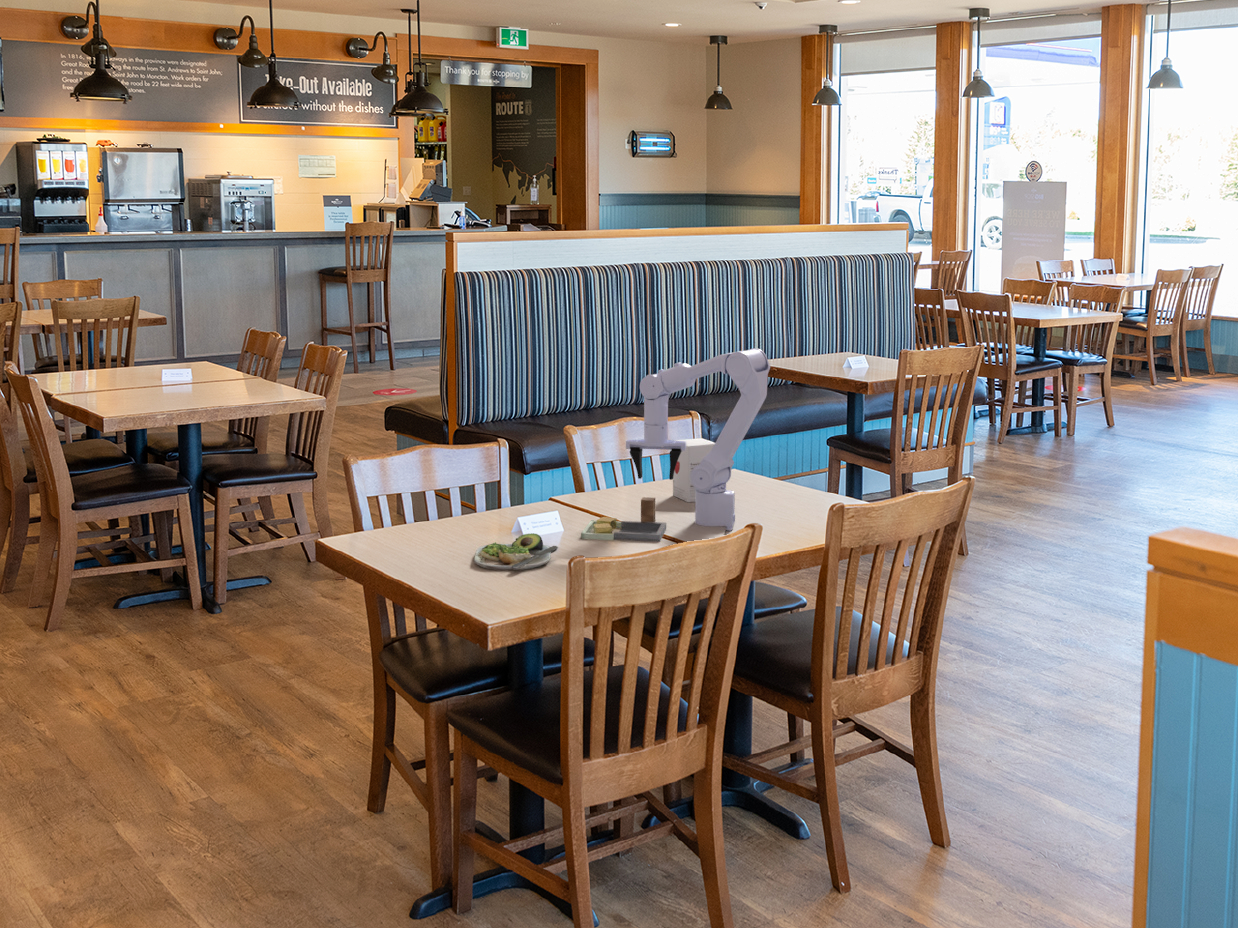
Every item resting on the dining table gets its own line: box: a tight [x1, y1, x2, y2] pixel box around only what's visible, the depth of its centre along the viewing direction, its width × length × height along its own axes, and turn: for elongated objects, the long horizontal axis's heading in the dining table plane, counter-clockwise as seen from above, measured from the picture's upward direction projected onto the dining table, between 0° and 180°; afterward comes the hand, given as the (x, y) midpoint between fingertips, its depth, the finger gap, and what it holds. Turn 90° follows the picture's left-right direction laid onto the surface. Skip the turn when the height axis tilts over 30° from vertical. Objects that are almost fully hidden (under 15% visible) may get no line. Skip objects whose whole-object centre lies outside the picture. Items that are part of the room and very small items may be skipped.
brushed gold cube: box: [596, 516, 617, 532], centre depth 286 cm, size 4×4×2 cm
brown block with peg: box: [640, 496, 656, 522], centre depth 291 cm, size 3×8×7 cm, turn 169°
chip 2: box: [593, 523, 613, 534], centre depth 281 cm, size 4×4×2 cm
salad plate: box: [473, 533, 559, 571], centre depth 264 cm, size 19×18×5 cm
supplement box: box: [672, 437, 716, 503], centre depth 321 cm, size 9×9×15 cm
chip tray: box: [580, 520, 622, 541], centre depth 284 cm, size 8×12×2 cm, turn 170°
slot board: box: [613, 520, 667, 542], centre depth 282 cm, size 10×11×2 cm
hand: (655, 478), depth 299 cm, fingers open, 7 cm apart
